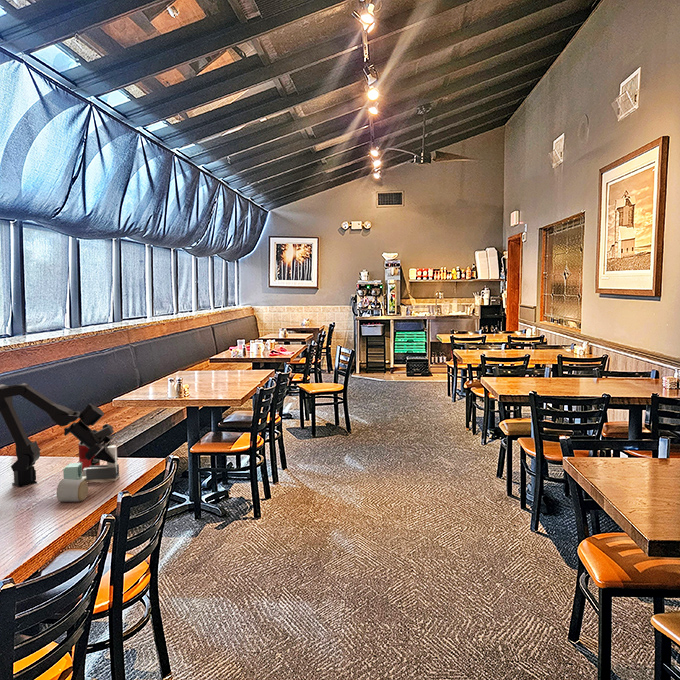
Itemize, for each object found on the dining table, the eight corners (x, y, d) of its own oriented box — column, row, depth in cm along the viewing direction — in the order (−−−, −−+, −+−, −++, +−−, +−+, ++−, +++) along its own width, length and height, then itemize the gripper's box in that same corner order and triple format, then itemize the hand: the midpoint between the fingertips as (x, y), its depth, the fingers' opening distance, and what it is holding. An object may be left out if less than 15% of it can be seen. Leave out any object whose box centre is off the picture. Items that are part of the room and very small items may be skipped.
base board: (119, 476, 227) (119, 474, 227) (115, 481, 221) (115, 479, 221) (67, 479, 224) (67, 477, 224) (62, 484, 218) (62, 481, 218)
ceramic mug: (80, 504, 196) (79, 482, 196) (56, 504, 196) (55, 482, 196) (93, 494, 206) (93, 473, 206) (71, 494, 207) (70, 473, 206)
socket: (82, 476, 224) (81, 462, 224) (77, 480, 219) (77, 466, 219) (67, 477, 224) (67, 463, 223) (63, 481, 218) (62, 467, 218)
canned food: (95, 470, 236) (94, 444, 235) (75, 470, 236) (74, 444, 235) (103, 465, 243) (102, 439, 243) (84, 465, 244) (83, 439, 243)
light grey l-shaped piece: (117, 472, 225) (116, 445, 224) (115, 474, 222) (114, 447, 221) (85, 474, 223) (84, 446, 223) (82, 476, 220) (81, 448, 220)
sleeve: (119, 474, 226) (118, 464, 226) (116, 478, 221) (115, 467, 221) (90, 476, 224) (89, 465, 224) (86, 480, 220) (86, 469, 219)
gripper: (92, 424, 212) (125, 452, 214) (106, 414, 230) (135, 440, 233) (71, 446, 211) (103, 474, 214) (86, 434, 230) (116, 460, 232)
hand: (115, 461), depth 223 cm, fingers open, 3 cm apart
